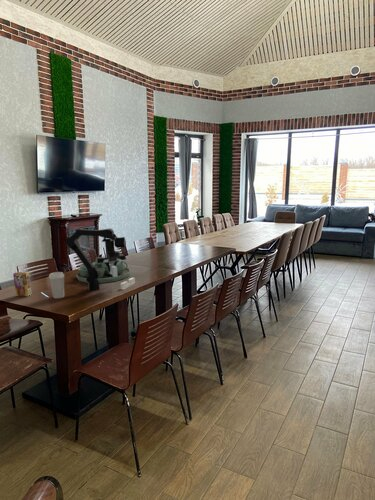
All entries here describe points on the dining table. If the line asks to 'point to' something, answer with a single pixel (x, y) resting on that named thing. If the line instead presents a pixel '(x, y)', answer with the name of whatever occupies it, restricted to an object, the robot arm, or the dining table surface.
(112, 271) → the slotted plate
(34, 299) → the dining table surface
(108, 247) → the robot arm
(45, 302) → the dining table surface
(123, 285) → the slotted rib
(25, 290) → the candy box
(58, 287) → the coffee cup
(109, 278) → the tea set
